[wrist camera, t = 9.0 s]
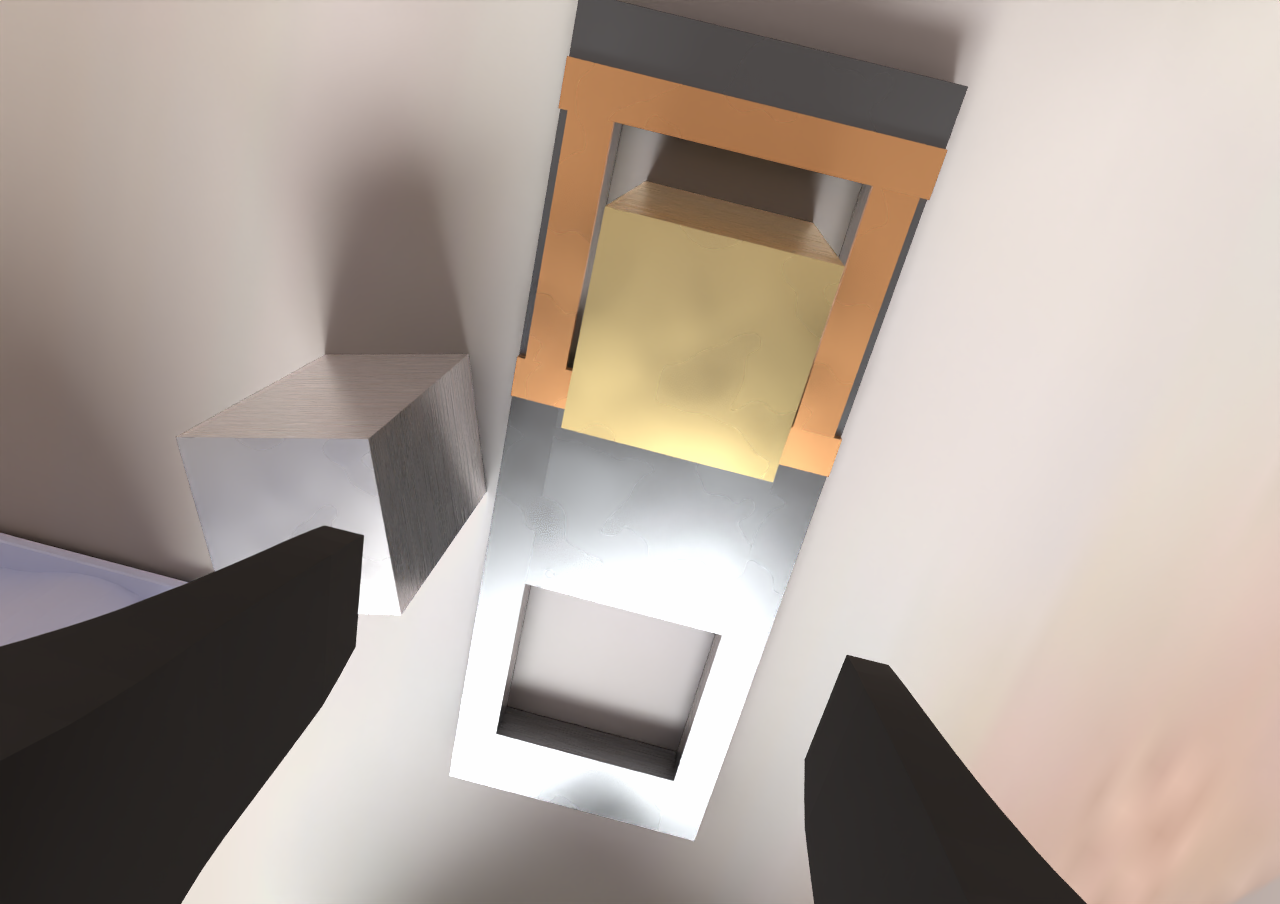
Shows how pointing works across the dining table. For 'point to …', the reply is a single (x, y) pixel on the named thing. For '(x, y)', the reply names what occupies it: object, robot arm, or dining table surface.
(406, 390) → the grey metallic block
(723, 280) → the tan square block
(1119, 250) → the dining table surface
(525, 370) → the grey slotted plate
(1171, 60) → the dining table surface
